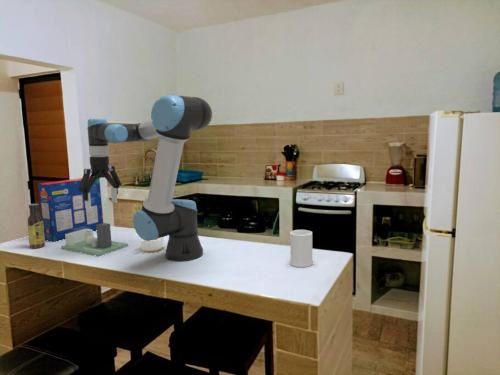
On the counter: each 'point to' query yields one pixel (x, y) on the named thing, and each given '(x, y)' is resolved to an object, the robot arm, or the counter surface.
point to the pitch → (78, 243)
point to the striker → (102, 236)
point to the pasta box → (68, 208)
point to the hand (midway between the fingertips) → (101, 205)
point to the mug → (301, 248)
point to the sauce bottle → (35, 227)
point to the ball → (89, 239)
